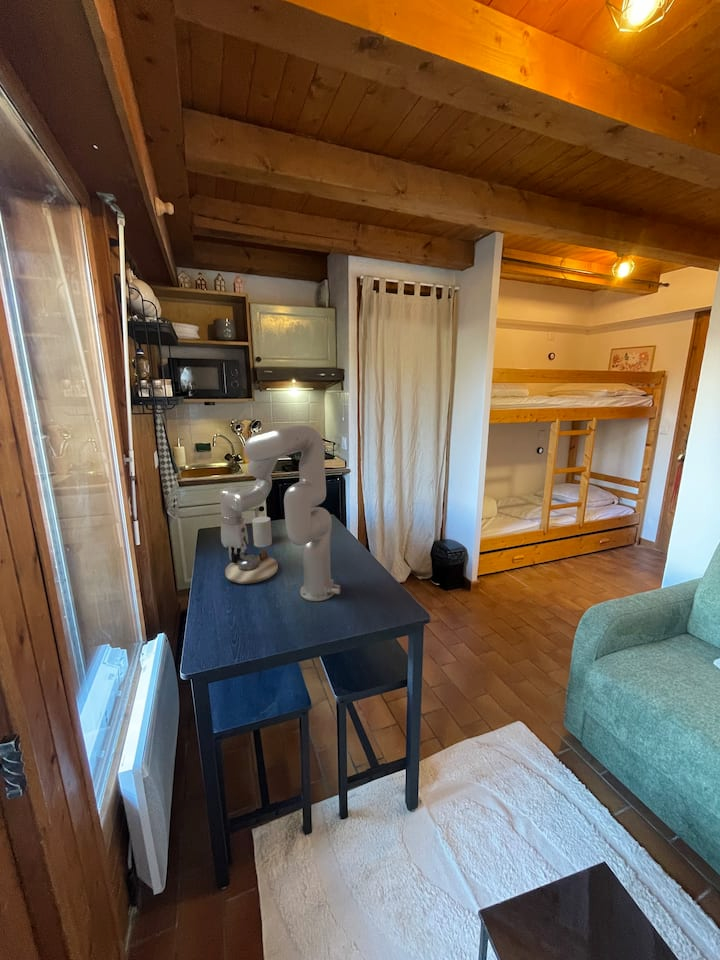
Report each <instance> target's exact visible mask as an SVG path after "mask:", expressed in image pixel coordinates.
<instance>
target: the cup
mask: <svg viewBox="0 0 720 960" xmlns="http://www.w3.org/2000/svg"><path fill="white" fill-rule="evenodd" d="M251 522H252V523H251V524H252V535H253V536H252V537H253V546H254V547H256V548H267V547H269V546H271V545H272V544H273V541H272V539H273V538H272V527H271V526H272V525H271V524H272V523H271V517H269V516H265V515H264V516H256V517H254V518H252V520H251Z"/></svg>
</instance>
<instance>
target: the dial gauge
mask: <svg viewBox="0 0 720 960" xmlns="http://www.w3.org/2000/svg"><path fill="white" fill-rule="evenodd" d="M228 555H229V561H230V562H232V558H231V553H230V552H229V551H228ZM242 556H245V550H244V551H241V552H240V557H242Z"/></svg>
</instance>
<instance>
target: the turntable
mask: <svg viewBox="0 0 720 960" xmlns="http://www.w3.org/2000/svg"><path fill="white" fill-rule="evenodd" d="M257 556H258V558H259V567H258V568H256V569H254V570H251V571H241V570H239V569H238V562H237V563H232V562H231V563H229V564H228V565H227V566H226V568H225V571H224V573H225V578H226V579H227V580H229V581H230V582H232V583H235V584H255V583H259V582H262V581H266V580H268V579H269V578H271V577H273V576H274V575H275V574H276V573H277V572H278V569H279V568H278V567H279V565H278V564H279V563H278V562H277V559H275V558H273V557H271V556H268V550H265V549H263V550H262V551H260V552H259V553H258V555H257Z"/></svg>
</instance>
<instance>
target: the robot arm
mask: <svg viewBox="0 0 720 960" xmlns="http://www.w3.org/2000/svg"><path fill="white" fill-rule="evenodd" d="M243 447H244V448H243V449H244V450H243V451H244V455H245V457H246V458H247V459H248V460H249V462H248V464H247V471H248V473H249V474H250V475H251V476H252V477H254V478H256V479H255V481H254V483H253V485H252V486H251V487H249V488H246V489H243V490H240V489H239V488H238V487H234V486H229V487H228V486H227V487H223V488H222V489H220V490H219V501H220V513H221V520H222V521H221V524H220V540H221V544H222V545H223V547H224V548H226V549H227V550H228V553H229V552H230V553H231V558H232V561H231V563H237V562H238V559H239V558H240V552H241V551H244V552H245V551H246V550H247V549H248V547H247V545H249V536H248V530H247V529H248V528H247V525H246V523H245V518H244V517H243V513H244V512H246V511H249V510H251V509H253V508H255V507H258V506H260V505H262V504H263V503H264V502H265V501H266V500H267V497H268V496H269V494H270V492H271V490H272V486H273V482H272V481H273V480H272V476H271V475H272V472H273V471H274V469H275V466H276V464H277V462H278V460H279V459H280V457H284V456H289V455H293V454H295V453H298V452H300V453H301V456H300V459H299V462H298V472H299V481H298V482H296V483H294V484H291V486H289V487H288V488H287V489H286V491H285V493H284V497H283V506H284V507H283V508H284V519H285V522H284V523H285V529H286V530H285V531H286V535H287V536H288V539H289V540H290V542H291V543H292V544H294V545H296V546H299V547H301V546H302V567H303V585H302V586H301V587H300V589H299V592H300V593H299V594H300V596H301V597H302V598H303V599H304V600H306V601H310V602H322V601H325V600H328V599H330V598H332V597H333V596H334V595H340V593H341V585H339V584H335V583H334V579H333V578H331V577H332V575H331V534H332V533H331V532H332V527H333V526H332V525H333V522H332V521H333V519H332V515H331V514H330V512H329V511H328V510H327V509H326V508H325V507H320V506H319V505H321V504H323V502H324V501H325V500H326V497H327V485H326V484H327V482H326V469H325V468H326V467H325V457H326V456H325V451H326V450H325V443H324V440H323V437H322V436H321V434H320V433H319V432H318V431H317V430H316V429H315V428H313V427H311V426H308V425H303V424H302V425H301V424H300V425H294V426H287V427H283V428H279V429H273V430H271V431H266V432H264V433H263V432H262V433H260V434H256V435H252V436H250V437H248V438H247V439H246V441H245V443H244V446H243Z"/></svg>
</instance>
